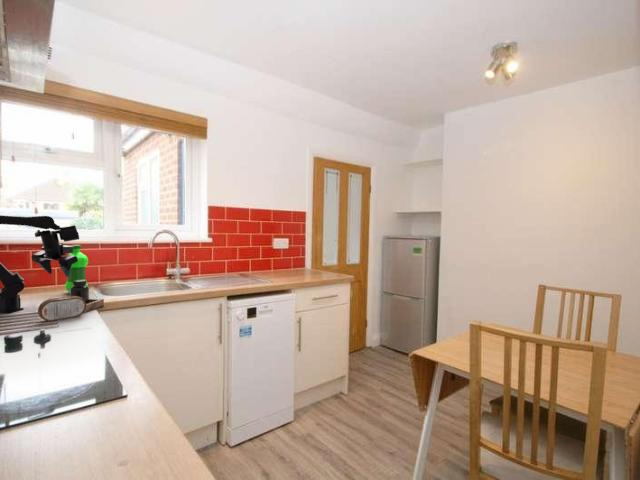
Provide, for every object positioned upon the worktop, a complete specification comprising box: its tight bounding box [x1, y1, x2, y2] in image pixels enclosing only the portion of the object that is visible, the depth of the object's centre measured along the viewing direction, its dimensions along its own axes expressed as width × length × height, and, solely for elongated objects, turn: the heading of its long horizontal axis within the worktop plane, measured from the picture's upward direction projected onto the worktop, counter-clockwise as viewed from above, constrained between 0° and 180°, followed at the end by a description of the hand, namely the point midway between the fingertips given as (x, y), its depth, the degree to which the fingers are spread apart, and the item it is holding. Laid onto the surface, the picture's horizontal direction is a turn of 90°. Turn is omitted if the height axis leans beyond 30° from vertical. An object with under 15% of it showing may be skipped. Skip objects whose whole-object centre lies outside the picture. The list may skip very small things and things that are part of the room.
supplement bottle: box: [69, 279, 90, 304], centre depth 145 cm, size 7×7×12 cm
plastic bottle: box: [64, 244, 89, 293], centre depth 174 cm, size 10×10×25 cm
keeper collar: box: [82, 298, 105, 314], centre depth 145 cm, size 12×12×3 cm
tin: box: [37, 295, 86, 322], centre depth 130 cm, size 15×3×8 cm, turn 141°
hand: (59, 275), depth 153 cm, fingers open, 9 cm apart
